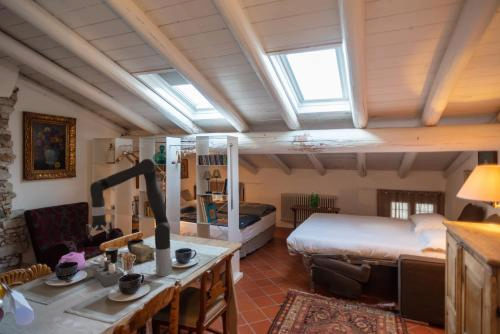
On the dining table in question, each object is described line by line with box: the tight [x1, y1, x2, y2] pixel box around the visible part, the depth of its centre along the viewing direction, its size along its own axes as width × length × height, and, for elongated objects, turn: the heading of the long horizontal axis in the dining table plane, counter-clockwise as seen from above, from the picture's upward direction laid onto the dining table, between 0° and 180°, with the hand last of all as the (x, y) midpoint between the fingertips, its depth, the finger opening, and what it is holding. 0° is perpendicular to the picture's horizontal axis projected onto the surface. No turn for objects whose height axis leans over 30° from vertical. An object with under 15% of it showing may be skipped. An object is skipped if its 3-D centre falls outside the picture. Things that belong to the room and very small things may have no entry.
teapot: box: [58, 251, 86, 271], centre depth 202 cm, size 20×12×13 cm, turn 165°
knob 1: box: [100, 256, 107, 268], centre depth 195 cm, size 4×4×6 cm
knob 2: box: [109, 263, 116, 275], centre depth 184 cm, size 4×4×6 cm
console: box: [92, 263, 124, 288], centre depth 190 cm, size 11×22×6 cm, turn 43°
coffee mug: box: [100, 246, 119, 265], centre depth 218 cm, size 12×9×10 cm
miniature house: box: [130, 242, 156, 265], centre depth 222 cm, size 15×14×11 cm
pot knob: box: [104, 260, 111, 272], centre depth 189 cm, size 4×4×6 cm
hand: (99, 240), depth 187 cm, fingers open, 8 cm apart
